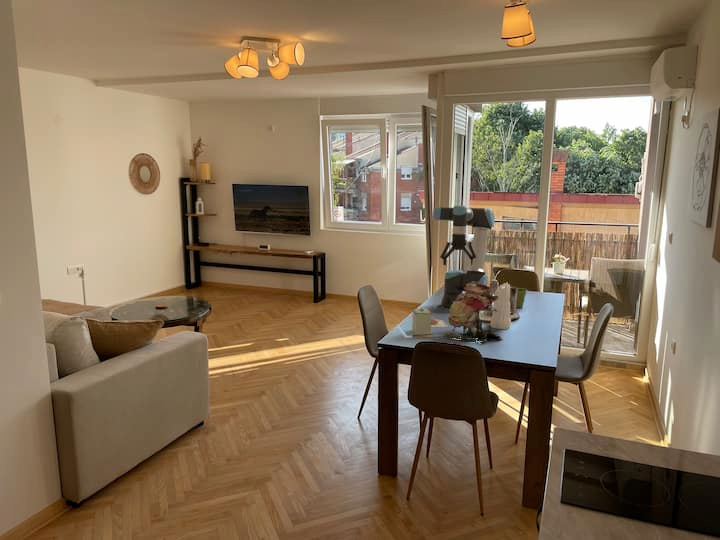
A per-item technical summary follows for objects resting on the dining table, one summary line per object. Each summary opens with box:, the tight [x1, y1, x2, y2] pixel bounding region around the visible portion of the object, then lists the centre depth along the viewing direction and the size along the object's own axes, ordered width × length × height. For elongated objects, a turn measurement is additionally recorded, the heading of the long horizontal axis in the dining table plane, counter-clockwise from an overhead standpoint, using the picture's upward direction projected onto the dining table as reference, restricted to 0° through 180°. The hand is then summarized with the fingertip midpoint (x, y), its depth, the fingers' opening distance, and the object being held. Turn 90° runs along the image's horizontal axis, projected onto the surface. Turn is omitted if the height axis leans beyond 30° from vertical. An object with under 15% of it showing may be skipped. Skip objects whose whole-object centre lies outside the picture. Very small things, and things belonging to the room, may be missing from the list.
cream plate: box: [431, 317, 449, 328], centre depth 298 cm, size 13×13×3 cm
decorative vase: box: [490, 281, 512, 330], centre depth 295 cm, size 11×11×25 cm
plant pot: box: [516, 288, 528, 309], centre depth 341 cm, size 12×12×11 cm
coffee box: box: [510, 285, 518, 314], centre depth 327 cm, size 9×6×16 cm
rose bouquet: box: [444, 281, 502, 345], centre depth 274 cm, size 26×29×30 cm
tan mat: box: [412, 334, 436, 340], centre depth 282 cm, size 16×11×1 cm
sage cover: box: [412, 307, 432, 335], centre depth 281 cm, size 8×8×13 cm
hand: (457, 270), depth 298 cm, fingers open, 13 cm apart
